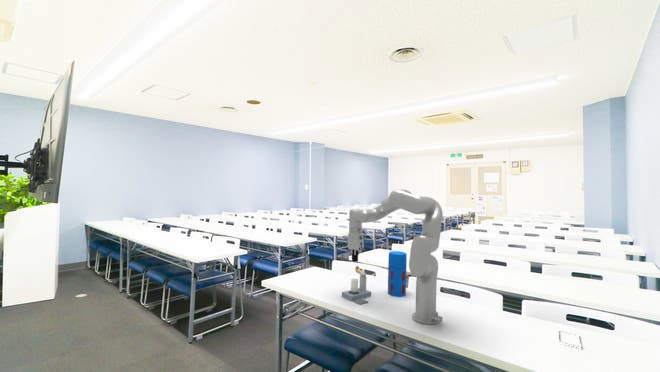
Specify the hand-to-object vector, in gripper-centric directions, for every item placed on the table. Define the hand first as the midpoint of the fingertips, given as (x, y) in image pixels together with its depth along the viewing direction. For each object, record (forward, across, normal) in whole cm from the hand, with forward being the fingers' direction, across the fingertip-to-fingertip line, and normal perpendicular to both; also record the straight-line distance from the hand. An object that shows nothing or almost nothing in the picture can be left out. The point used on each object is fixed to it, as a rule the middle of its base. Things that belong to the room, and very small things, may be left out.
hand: (354, 261), depth 172 cm
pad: (+21, -8, +2) cm, 22 cm away
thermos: (+21, -10, -26) cm, 35 cm away
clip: (+10, +5, -9) cm, 14 cm away
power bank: (+22, -89, -46) cm, 103 cm away
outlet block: (+21, 0, -2) cm, 21 cm away
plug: (+21, 0, 0) cm, 21 cm away
